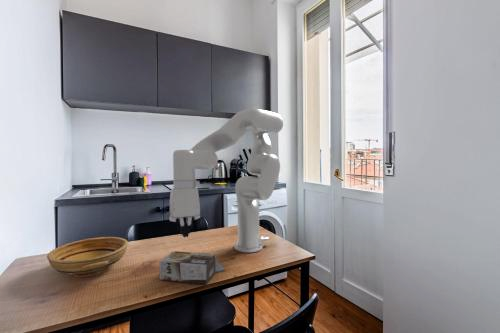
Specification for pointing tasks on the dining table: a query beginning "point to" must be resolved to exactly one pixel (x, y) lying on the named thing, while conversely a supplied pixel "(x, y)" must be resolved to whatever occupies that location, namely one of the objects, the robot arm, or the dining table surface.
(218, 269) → the grey mat
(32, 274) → the dining table surface
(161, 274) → the coffee box
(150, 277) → the dining table surface
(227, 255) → the dining table surface
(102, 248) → the brown oval basket
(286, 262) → the dining table surface
